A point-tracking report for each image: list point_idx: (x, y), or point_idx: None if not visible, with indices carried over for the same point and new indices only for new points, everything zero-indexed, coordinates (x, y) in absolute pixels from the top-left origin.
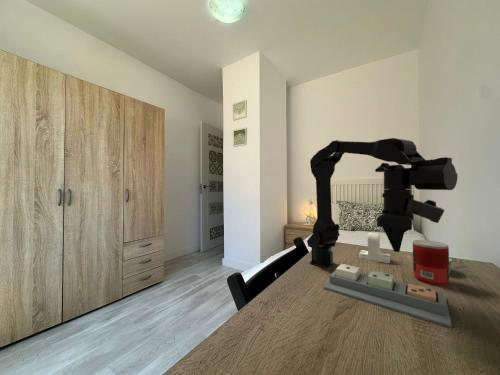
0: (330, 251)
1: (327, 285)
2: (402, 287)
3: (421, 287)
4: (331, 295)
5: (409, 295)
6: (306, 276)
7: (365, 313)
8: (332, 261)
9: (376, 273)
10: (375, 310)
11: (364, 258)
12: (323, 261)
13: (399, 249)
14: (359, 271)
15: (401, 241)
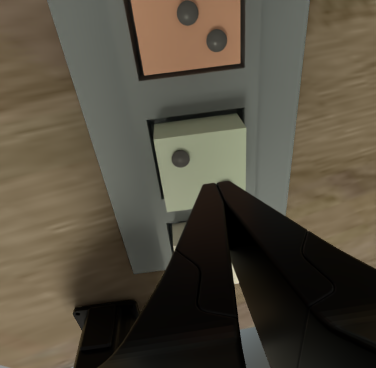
0: (89, 352)
1: None
2: (179, 89)
3: (146, 17)
4: (307, 223)
5: (245, 51)
6: (236, 299)
7: (361, 135)
8: (93, 312)
9: (190, 191)
10: (329, 121)
11: None
12: (128, 324)
13: (239, 189)
14: (179, 235)
15: (297, 225)
